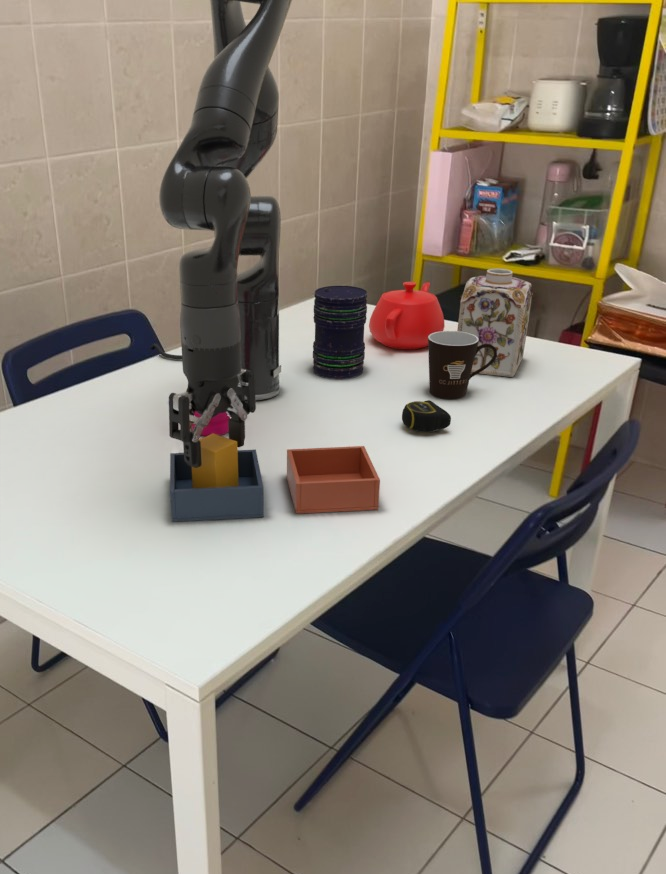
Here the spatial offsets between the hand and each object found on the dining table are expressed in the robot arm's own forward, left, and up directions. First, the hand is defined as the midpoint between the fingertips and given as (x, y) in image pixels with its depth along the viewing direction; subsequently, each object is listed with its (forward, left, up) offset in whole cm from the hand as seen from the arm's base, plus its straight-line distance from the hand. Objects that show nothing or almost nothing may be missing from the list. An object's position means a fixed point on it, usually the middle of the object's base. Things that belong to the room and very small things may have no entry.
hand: (215, 455), depth 118 cm
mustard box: (0, 0, -6) cm, 6 cm away
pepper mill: (-15, +21, -7) cm, 26 cm away
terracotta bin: (+13, +10, -7) cm, 17 cm away
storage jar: (-10, +57, -7) cm, 58 cm away
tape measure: (+15, +39, -7) cm, 42 cm away
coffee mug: (+14, +56, -7) cm, 58 cm away
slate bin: (0, 0, -7) cm, 7 cm away
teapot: (-6, +81, -7) cm, 81 cm away
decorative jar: (+14, +74, -7) cm, 75 cm away
